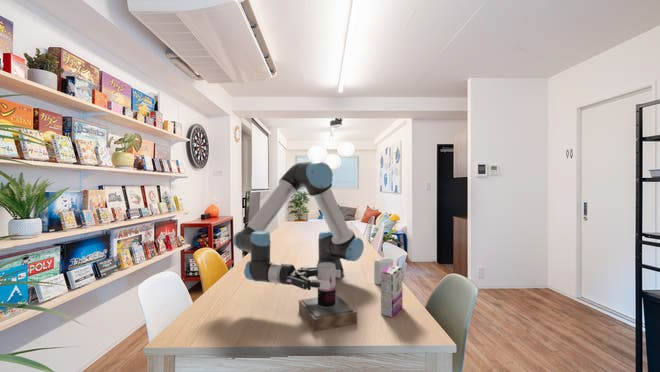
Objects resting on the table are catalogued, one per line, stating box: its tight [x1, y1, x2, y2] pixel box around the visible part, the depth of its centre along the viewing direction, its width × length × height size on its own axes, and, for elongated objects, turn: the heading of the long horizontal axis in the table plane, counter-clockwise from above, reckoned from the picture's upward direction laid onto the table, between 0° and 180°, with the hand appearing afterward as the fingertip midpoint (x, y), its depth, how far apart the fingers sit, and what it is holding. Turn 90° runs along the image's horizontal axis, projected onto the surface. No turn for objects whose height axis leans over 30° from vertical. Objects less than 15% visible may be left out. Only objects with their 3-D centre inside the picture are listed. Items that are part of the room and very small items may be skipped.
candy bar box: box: [380, 264, 404, 318], centre depth 121 cm, size 11×5×16 cm, turn 148°
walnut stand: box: [298, 293, 358, 332], centre depth 116 cm, size 16×18×4 cm
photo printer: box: [373, 256, 394, 285], centre depth 154 cm, size 10×4×12 cm, turn 123°
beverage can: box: [317, 262, 337, 308], centre depth 116 cm, size 6×7×15 cm
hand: (335, 279), depth 115 cm, fingers open, 13 cm apart
